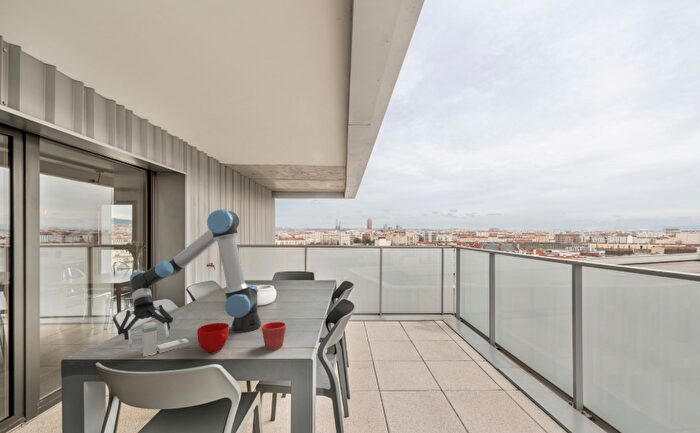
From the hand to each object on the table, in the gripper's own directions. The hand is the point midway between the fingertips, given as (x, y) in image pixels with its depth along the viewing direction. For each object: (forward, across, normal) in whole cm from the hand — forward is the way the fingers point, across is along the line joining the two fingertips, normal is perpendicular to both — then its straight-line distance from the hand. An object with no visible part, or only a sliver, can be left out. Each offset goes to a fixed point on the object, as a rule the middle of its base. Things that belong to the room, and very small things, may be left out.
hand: (149, 341), depth 128 cm
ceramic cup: (+16, -22, +7) cm, 28 cm away
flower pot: (+27, -42, +18) cm, 53 cm away
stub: (+3, 0, -5) cm, 6 cm away
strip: (+3, -9, -5) cm, 11 cm away
